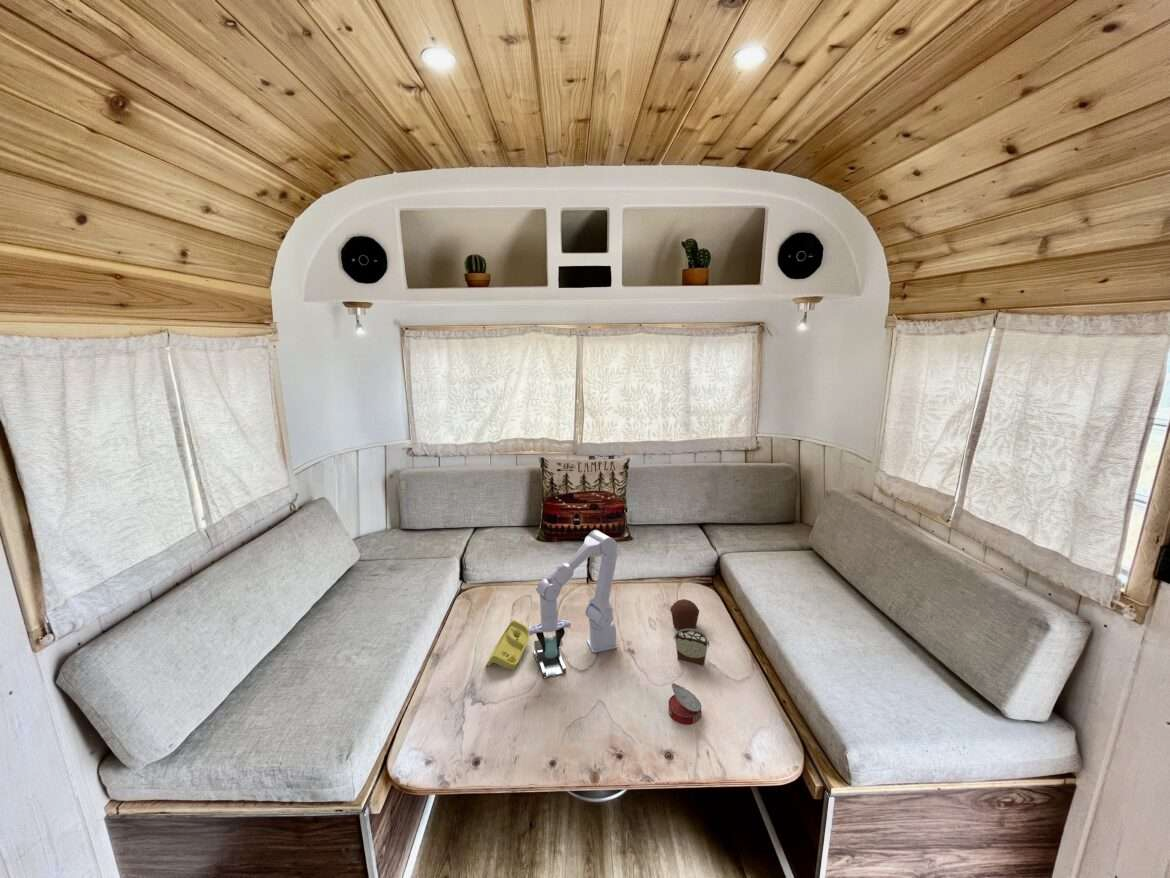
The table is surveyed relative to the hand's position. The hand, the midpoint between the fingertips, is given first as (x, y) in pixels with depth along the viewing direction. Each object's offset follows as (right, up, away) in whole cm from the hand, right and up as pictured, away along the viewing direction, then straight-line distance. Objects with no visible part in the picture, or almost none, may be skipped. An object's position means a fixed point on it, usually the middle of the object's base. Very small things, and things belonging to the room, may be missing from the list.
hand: (550, 648), depth 170 cm
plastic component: (-15, -6, +9) cm, 19 cm away
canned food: (+43, -11, -21) cm, 49 cm away
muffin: (+52, -1, +24) cm, 57 cm away
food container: (+51, -5, +4) cm, 51 cm away
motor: (0, -6, +4) cm, 7 cm away
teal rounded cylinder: (0, -2, 0) cm, 2 cm away
